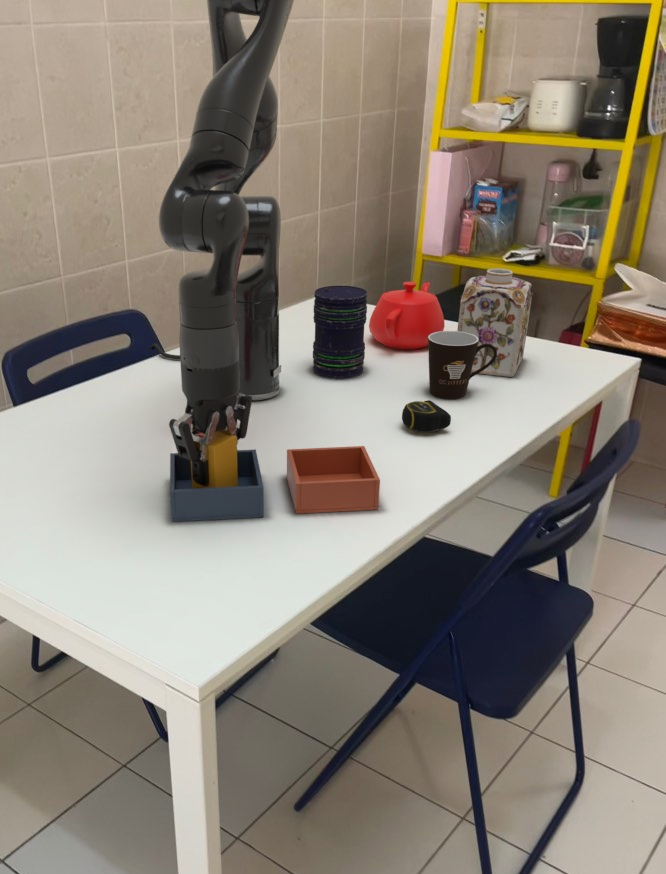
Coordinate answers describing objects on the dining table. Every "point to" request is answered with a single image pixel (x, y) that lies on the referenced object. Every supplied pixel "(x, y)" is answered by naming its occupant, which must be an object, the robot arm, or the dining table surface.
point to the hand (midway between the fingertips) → (214, 476)
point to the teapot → (406, 317)
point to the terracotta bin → (332, 479)
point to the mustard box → (221, 462)
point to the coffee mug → (453, 362)
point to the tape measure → (425, 416)
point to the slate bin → (216, 492)
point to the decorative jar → (497, 319)
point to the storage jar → (339, 331)
